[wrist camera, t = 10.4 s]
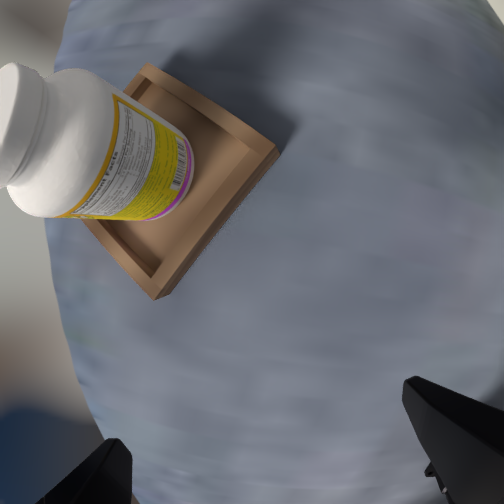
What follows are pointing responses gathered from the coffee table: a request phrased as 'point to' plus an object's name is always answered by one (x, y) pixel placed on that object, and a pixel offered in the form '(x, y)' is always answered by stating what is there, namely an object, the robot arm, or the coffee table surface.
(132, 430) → the coffee table surface
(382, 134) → the coffee table surface
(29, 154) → the supplement bottle
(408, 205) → the coffee table surface
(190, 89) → the walnut tray
